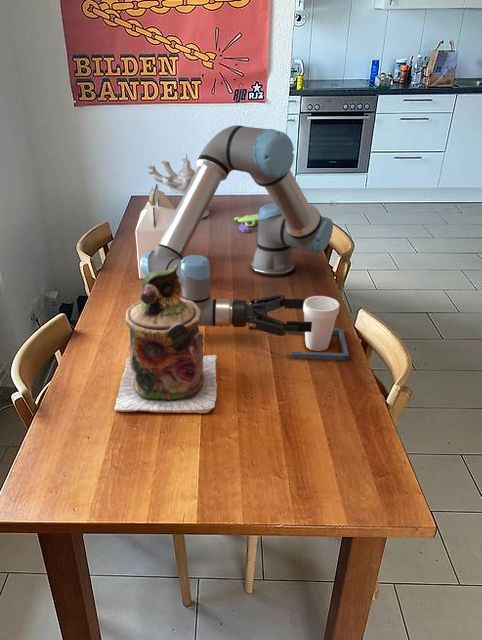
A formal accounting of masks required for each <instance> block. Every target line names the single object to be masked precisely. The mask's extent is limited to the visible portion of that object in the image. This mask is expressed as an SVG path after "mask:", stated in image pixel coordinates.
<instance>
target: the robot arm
mask: <svg viewBox="0 0 482 640" xmlns="http://www.w3.org/2000/svg"><path fill="white" fill-rule="evenodd" d="M294 150H295V147H294V144H293V141H292V140H291V137H289V135H288V134H287V133H286V132H283V131H280V130H277V129H274V128H262V127H254V126H253V127H252V126H246V125H245V126H244V125H238V124H237V125H231V126H228V127H225V128H224V129H222V130H220V131H219V132H218V133H217V134H216V135H214V137H212V138H211V139H210V140H209V142H207V143H206V145H205V146H204V148H203V149H202V151H201V152H200V154H199V156H198V157H197V160H196V161H195V162H196V163H195V164H196V170H195V174H194V176H193V178H192V180H191V182H190V184H189V186H188V188H187V190H186V191H185V193H184V195H183V194H182V197H181V200H180V202H179V203H178V205H177V207H176V208H177V209H176V211H175V213H174V215H173V217H172V219H171V221H170V223H169V225H168V227H167V229H166V231H165V233H164V235H163V237H162V239H161V241H160V243H159V245H158V247H157V248H156V250H154V251H152V250H150V251H148V252H147V253H146V254H144V255H143V257H142V259H141V264H140V265H141V270H142V272H143V273H144V275H147V274H149V273H151V272H153V271H158V270H171V269H173V268H174V266H175V265H178V267H177V271H176V273H177V275H178V276H179V278H178V281H179V282H180V283H181V290H182V298H183V299H187V300H190V301H192V302H194V303H195V304H196V305H197V306H198V307H199V309H200V310H201V319H200V321H199V324H198V327H220V328H223V327H228V328H229V327H230V326H231V325H232V327H233V328H245V327H246V326H247V324H248V329H249V330H256V331H260V332H265V333H268V334H272V335H275V336H279V337H283V336H286V335H287V332H289V331H290V332H311V328H312V322H306V321H299V320H286V322H285V321H282V320H281V319H277V318H275V317H272V316H269V315H268V313H270V312H273V311H275V310H278V309H281V308H284V309H286V310H287V309H288V310H289V309H292V310H293V309H294V310H295V309H296V310H303V305H304V301H305V299H306V298H286V295H285V294H276V295H271V296H264V297H261V298H250V299H249V304H248V303H247V300H246V299H233V300H232V299H230V298H211V269H210V268H211V267H210V261H209V259H208V257H206V256H204V255H200V254H198V255H197V254H190V255H186V256H184V255H185V253H186V251H187V249H188V246H189V245H190V242H191V241H192V239H193V236H194V235H195V233H196V232H197V231H196V230H197V229H198V227H199V225H200V223H201V222H202V219H203V218H202V217H203V215H204V213H205V211H206V209H207V210H208V208H209V205H210V204H211V202H212V199H213V198H214V195H215V193H216V191H217V189H218V188H219V186H220V184H221V182H223V181H225V180H227V178H228V176H229V175H230V173H231V172H232V171H238V172H243V173H248V174H249V175H250V177H251V178H252V180H253V181H254V184H256V185H257V186H259V187H263V188H265V190H266V192H267V193H268V195H269V196H270V198H271V200H272V201H273V203H271V202H270V203H267V204H265V205H262V206H261V207H260V208H259V209H258V213H257V214H258V222H257V236H256V237H257V241H256V250H255V252H254V255H253V258H252V260H251V263H250V264H251V267H250V268H251V271H252V272H253V273H254V274H257V275H259V276H262V277H268V278H278V277H279V278H280V277H285V276H288V275H290V274H292V273H293V272H294V270H295V262H294V260H293V255H292V251H291V248H296V249H300V250H304V251H308V252H310V253H315V254H319V253H322V252H324V251H325V250H326V248H327V247H328V245H329V243H330V241H331V238H332V235H333V231H334V222H333V219H332V218H329V217H327V216H322V215H321V213H320V211H319V210H318V209H317V208H316V207H315V206H314V205H312V204H310V203H309V201H308V200H307V198H306V196H305V194H304V192H303V191H302V189H301V187H300V185H299V183H298V181H297V179H296V178H295V176H294V173H293V172H292V171H291V170H292V169H291V168H292V167H293V163H294V158H295V153H294ZM290 332H289V333H290Z"/></svg>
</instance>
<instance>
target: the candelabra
mask: <svg viewBox="0 0 482 640" xmlns="http://www.w3.org/2000/svg"><path fill="white" fill-rule="evenodd" d="M181 161H182V162H183V163H182V165H183V167H182V168H181V169H180V170H179V172H178V174H177V173H176V172H174V170H173V169H172V167H171V164H170V161H165V160H162V161H160V164H162V165H164V166H163V168H164V170H165V172H166V173H167V174H168V176H166V175H163V174H161V173H159V171H157V169H156V166H154V165H149V166H147V169H148V170H152V171H148V172H147V173H148V175H151V177H152V179H153V180H154V181H156V182H157V183H159V184H162V185H164V186H167V187H168V188H169V190H170V192H173V193H175V194H180V195H182V196H183V195H184V193H185V191H186V190H187V188H188V186H189V184H190V182H191V180H192V178H193V176H194V174H195V172H196V170H195V169H193V168H192V166H191V161H190V160H189V159H188V153H187V152H186V154H185V158H182V159H181ZM175 209H177V207H175ZM209 214H210V211H209V210H208V208H207V209H206V211H205V213H204V215H203V217H202V219H204V218H206V217H208V216H209Z"/></svg>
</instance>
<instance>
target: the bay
mask: <svg viewBox="0 0 482 640" xmlns="http://www.w3.org/2000/svg"><path fill="white" fill-rule="evenodd" d="M288 333H289V334H301V335H303V334H304V335H305V332H290V331H288ZM333 335H335V336H338V339H339V345H340V348H341V352H317V351H314V352H313V351H310V352H309V351H291V354H290V358H291V359H293V360H294V359H297V360H322V361H324V360H325V361H349V358H350V354H349V350H348V345H347V341H346V337H345V332H344V329H343V327H341V328H340V327H339V328H337V327H334V328H333V332H332V336H333Z"/></svg>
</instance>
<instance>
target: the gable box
mask: <svg viewBox="0 0 482 640" xmlns="http://www.w3.org/2000/svg"><path fill="white" fill-rule="evenodd" d="M149 193H150V194H149V197H148V200H147V202H146V203H145V205H144V208H143V209H142V210H141V211H140V214H139V217H138V221H137V225H136V228H135V242H136V243H135V244H136V253H137V267H138V277H139V279H141V280H143V279H144V277H145V276H146V275H144V273H143V272H142V270H141V265H140V264H141V259H142V257H143V255H144V254H146V253H147V252H148V251H150V250H152V251H154V250H156V248H157V247H158V245H159V243H160V241H161V239H162V237H163V235H164V233H165V231H166V229H167V227H168V225H169V223H170V221H171V219H172V217H173V215H174V213H175V211H176V209H175V208H176V207H175V205H173V203H172V202H171V200H170V198H168V196H167V195H166V193H164V191H161V190H159V184H158V183H156V184H155V188H154V186H151V190H150V192H149Z"/></svg>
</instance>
